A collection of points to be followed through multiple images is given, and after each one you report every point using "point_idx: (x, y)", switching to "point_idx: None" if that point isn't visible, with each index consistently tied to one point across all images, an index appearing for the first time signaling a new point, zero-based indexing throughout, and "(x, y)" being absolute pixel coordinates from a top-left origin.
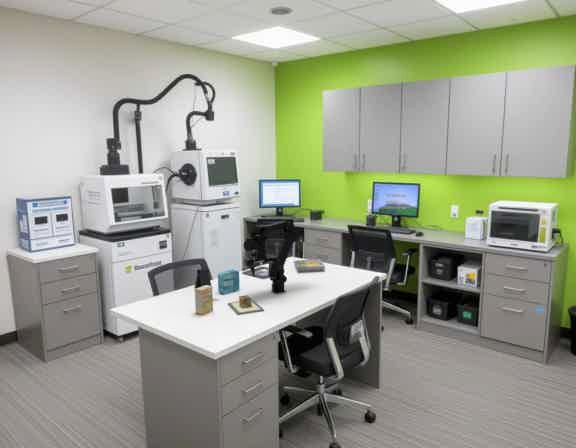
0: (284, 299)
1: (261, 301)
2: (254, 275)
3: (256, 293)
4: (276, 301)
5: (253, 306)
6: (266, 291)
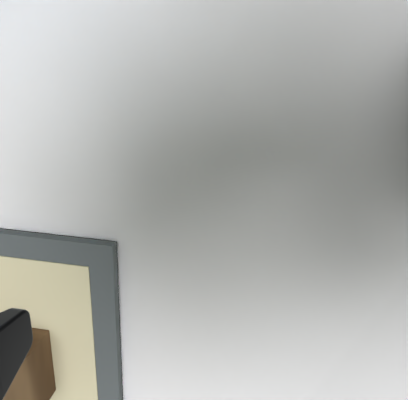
0: (393, 359)
1: (181, 299)
2: (11, 382)
3: (238, 40)
4: (298, 363)
5: (71, 388)
6: (393, 19)
